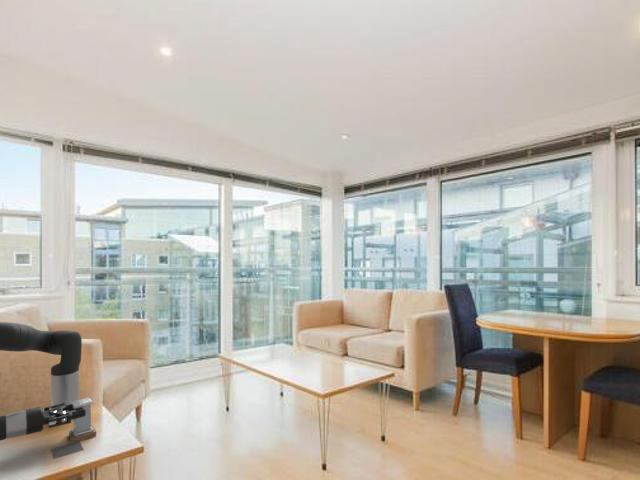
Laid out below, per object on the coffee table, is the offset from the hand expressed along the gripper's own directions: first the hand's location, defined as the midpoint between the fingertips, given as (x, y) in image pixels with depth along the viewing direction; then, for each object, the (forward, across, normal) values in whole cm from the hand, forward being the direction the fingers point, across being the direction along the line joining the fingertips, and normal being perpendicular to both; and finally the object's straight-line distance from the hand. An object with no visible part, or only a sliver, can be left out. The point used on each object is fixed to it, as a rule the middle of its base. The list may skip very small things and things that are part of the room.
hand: (82, 408), depth 137 cm
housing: (0, 0, +7) cm, 7 cm away
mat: (-6, -8, +10) cm, 14 cm away
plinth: (0, 0, +10) cm, 10 cm away
